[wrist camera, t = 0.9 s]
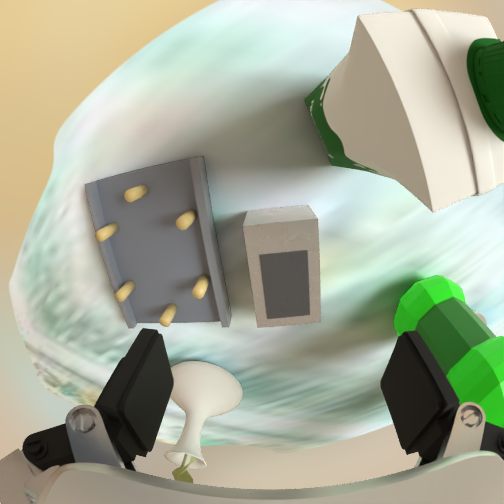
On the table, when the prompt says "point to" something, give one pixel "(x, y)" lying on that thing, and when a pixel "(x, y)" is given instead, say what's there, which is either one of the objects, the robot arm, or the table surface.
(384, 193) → the table surface
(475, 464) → the robot arm
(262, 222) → the block
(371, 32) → the milk carton
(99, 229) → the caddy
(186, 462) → the flower in vase
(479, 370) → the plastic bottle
